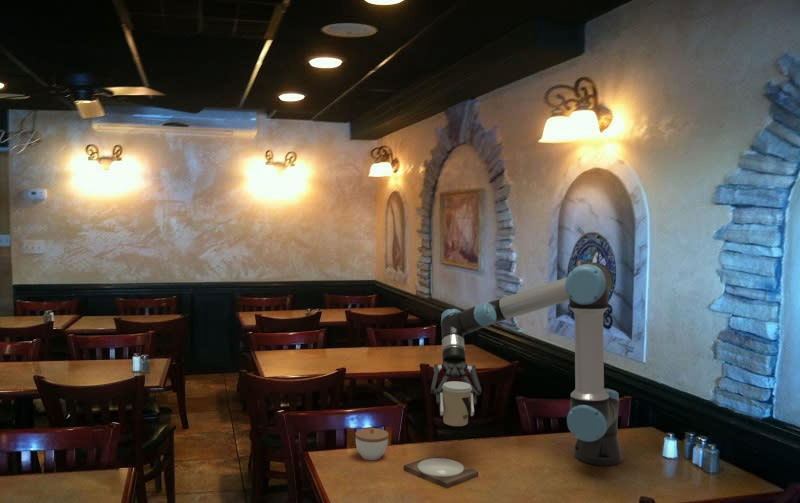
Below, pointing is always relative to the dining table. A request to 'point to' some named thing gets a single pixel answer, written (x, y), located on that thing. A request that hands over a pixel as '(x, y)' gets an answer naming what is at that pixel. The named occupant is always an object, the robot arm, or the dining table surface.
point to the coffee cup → (456, 403)
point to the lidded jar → (371, 443)
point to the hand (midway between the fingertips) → (457, 413)
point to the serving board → (441, 471)
